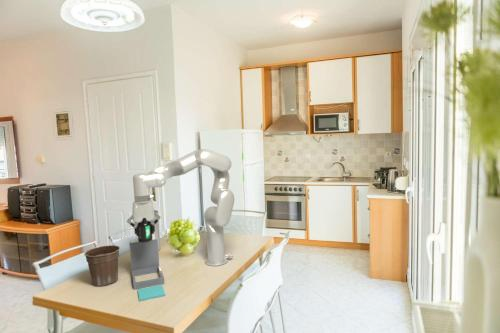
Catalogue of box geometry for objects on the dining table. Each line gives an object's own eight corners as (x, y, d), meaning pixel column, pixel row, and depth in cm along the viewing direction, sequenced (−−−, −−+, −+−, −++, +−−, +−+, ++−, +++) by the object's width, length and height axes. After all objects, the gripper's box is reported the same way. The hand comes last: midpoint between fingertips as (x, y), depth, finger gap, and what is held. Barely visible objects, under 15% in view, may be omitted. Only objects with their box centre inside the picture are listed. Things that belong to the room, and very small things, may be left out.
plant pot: (82, 290, 158) (79, 257, 157) (91, 277, 174) (89, 247, 173) (118, 286, 161) (116, 253, 160) (124, 273, 177) (122, 243, 176)
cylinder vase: (135, 252, 211) (133, 213, 209) (148, 246, 222) (146, 209, 220) (151, 254, 206) (149, 214, 204) (164, 248, 218) (161, 210, 216)
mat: (162, 286, 159) (161, 284, 159) (165, 295, 149) (165, 294, 149) (137, 291, 155) (137, 289, 155) (139, 301, 145) (139, 299, 145)
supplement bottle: (152, 241, 163) (150, 217, 162) (137, 243, 162) (135, 218, 161) (153, 237, 170) (151, 214, 169) (139, 239, 168) (137, 215, 168)
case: (159, 269, 180) (157, 239, 179) (164, 283, 162) (162, 249, 161) (131, 274, 175) (129, 242, 174) (134, 289, 157) (131, 254, 155)
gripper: (159, 195, 171) (161, 230, 172) (123, 199, 164) (126, 235, 166) (161, 198, 164) (163, 233, 165) (123, 201, 157) (126, 238, 159)
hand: (145, 234), depth 166 cm, fingers closed on supplement bottle, 6 cm apart
